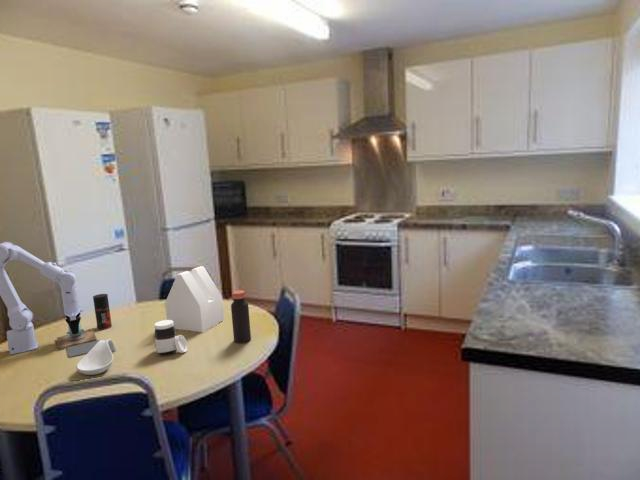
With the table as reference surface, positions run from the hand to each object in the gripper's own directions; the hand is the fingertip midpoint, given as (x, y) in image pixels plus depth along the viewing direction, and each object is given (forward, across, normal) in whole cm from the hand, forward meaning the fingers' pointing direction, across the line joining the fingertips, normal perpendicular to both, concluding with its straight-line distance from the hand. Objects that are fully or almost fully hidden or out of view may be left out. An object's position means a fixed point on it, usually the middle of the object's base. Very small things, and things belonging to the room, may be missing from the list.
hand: (75, 332), depth 189 cm
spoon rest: (+4, -33, -7) cm, 34 cm away
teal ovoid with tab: (+1, 0, 0) cm, 1 cm away
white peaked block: (+4, -12, -48) cm, 49 cm away
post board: (+4, 0, 0) cm, 4 cm away
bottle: (+4, -43, -58) cm, 73 cm away
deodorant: (+4, +11, -12) cm, 16 cm away
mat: (+4, -13, -3) cm, 14 cm away
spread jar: (+4, -38, -32) cm, 49 cm away
